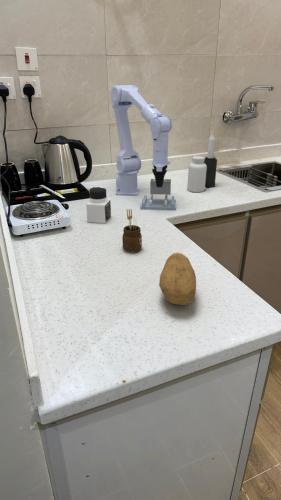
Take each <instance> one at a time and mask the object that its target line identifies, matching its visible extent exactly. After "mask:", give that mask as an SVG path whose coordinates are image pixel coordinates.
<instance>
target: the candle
mask: <svg viewBox="0 0 281 500" xmlns="http://www.w3.org/2000/svg"><path fill="white" fill-rule="evenodd" d="M214 132H215V131H213V130H212V131H211V134H210V137H209V138H208V143H207V145H208V146H207V156H205V157H204V158H205V159H204V163H205V164H206V166H207V170H206V181H205V189H210V188H215V187H216V177H217V176H216V175H217V168H218V167H217V166H218V159H217V157H216V156H215V149H216V148H215V147H216V137H215V135H214Z"/></svg>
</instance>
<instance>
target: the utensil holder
mask: <svg viewBox="0 0 281 500" xmlns="http://www.w3.org/2000/svg"><path fill="white" fill-rule="evenodd" d="M132 212H133V210H132V208H126V218H127V220H129V221H128V223H129V224H128V225H125V226H124V227H123V230H122V231H123V234H122V237H121V239H122V249H123V251H125V252H126V253H130V254H135V253H139V252H140V251H141V250H142V248H143V247H142V246H143V238H142V237H143V236H142V233H141V231H142V230H141V227H140V226H139V225H137V219H136V218H135V217H133V213H132ZM132 222H135V223H133V224H132Z"/></svg>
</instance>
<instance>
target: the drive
mask: <svg viewBox="0 0 281 500" xmlns="http://www.w3.org/2000/svg"><path fill="white" fill-rule="evenodd" d="M171 183H172V178H164V180H163V185H162V187H157V186H156V181H155V178H151V179H150V182H149V184H150V189H149V190H150V191H149V194H150V195H151V194H153V195H164V196H165V195H169V196H171V190H172V187H171V186H172V185H171Z"/></svg>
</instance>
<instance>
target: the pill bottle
mask: <svg viewBox="0 0 281 500" xmlns="http://www.w3.org/2000/svg"><path fill="white" fill-rule="evenodd" d="M204 159H205V157H204V156H200V155H195V156H192V161H191V162H190V163H189V164H188V172H187V186H186V187H187V191H188V192H190V193H191V192H192V193H202V192H205V189H206V188H205V181H206V170H207V166H206V164H205V163H204Z"/></svg>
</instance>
